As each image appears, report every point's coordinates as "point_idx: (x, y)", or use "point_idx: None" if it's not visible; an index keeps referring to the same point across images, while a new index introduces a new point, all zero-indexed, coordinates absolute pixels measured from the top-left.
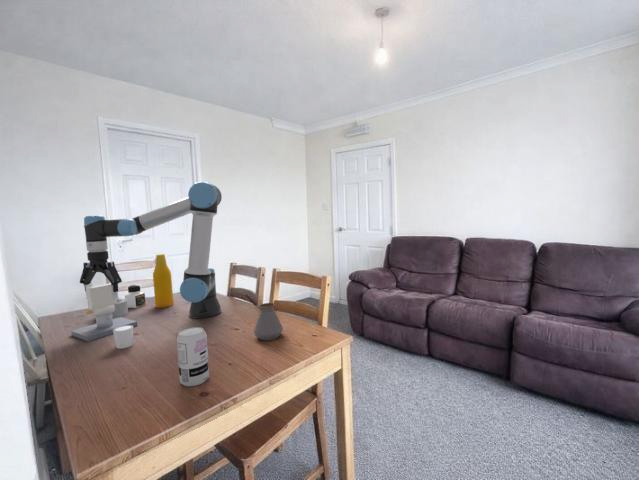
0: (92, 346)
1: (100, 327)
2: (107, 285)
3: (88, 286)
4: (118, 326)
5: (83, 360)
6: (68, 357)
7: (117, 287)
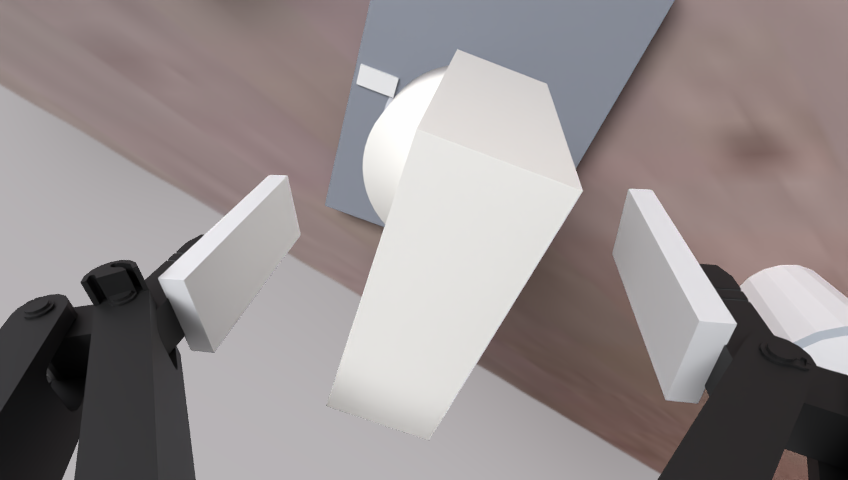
0: (593, 304)
1: None
2: (513, 295)
3: (221, 311)
4: (590, 118)
5: (662, 399)
6: (574, 380)
7: (748, 316)
